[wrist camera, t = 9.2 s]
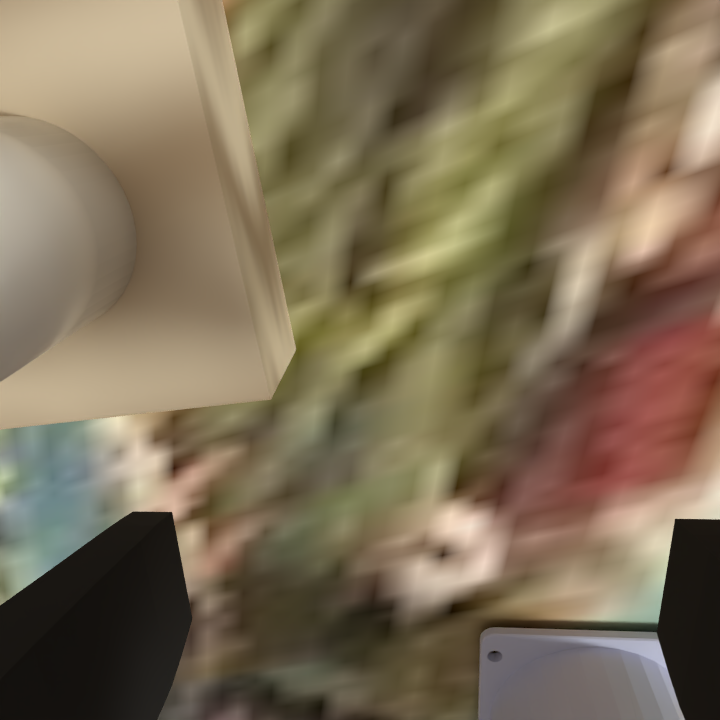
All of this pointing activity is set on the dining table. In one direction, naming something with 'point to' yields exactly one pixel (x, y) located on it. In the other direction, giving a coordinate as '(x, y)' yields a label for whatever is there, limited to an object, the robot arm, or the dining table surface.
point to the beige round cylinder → (56, 239)
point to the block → (153, 209)
